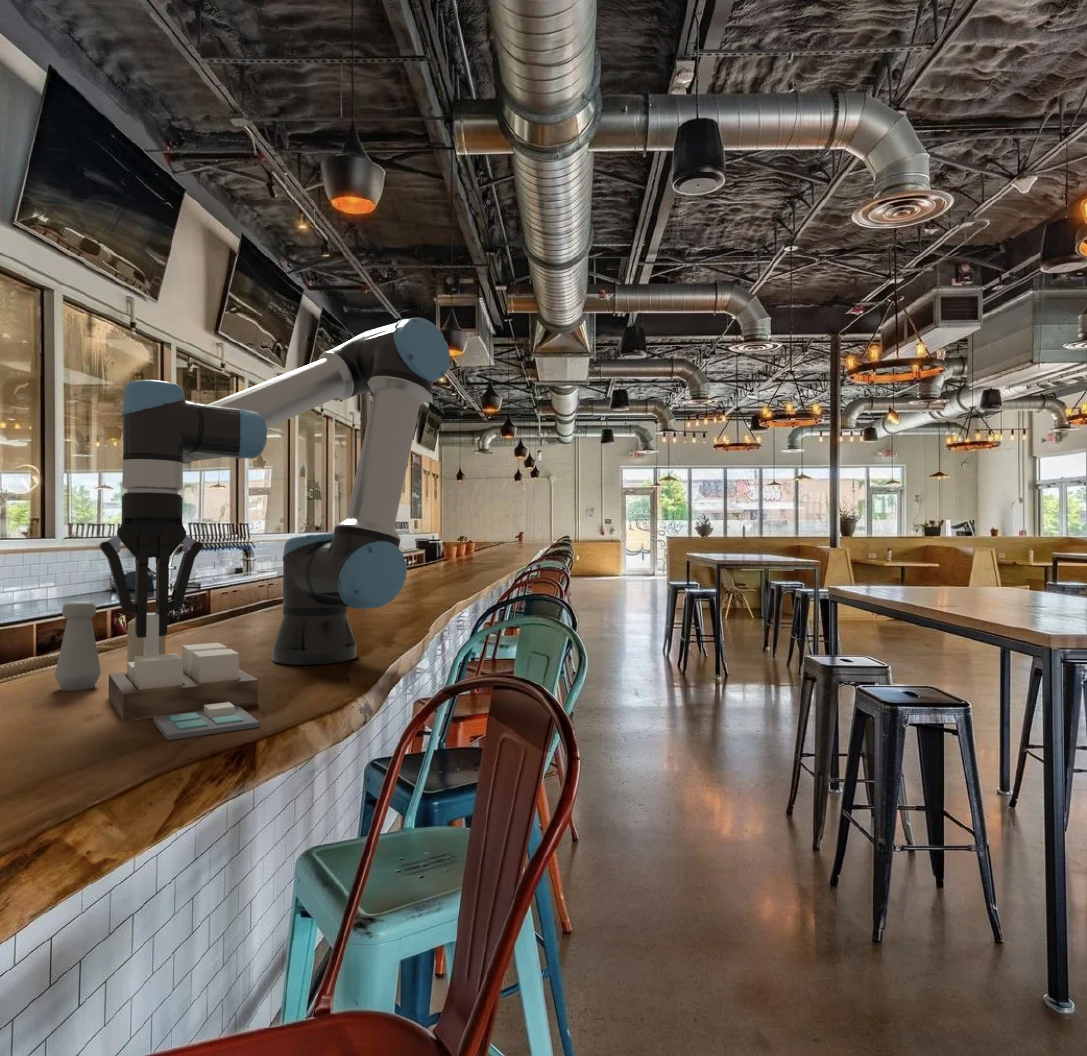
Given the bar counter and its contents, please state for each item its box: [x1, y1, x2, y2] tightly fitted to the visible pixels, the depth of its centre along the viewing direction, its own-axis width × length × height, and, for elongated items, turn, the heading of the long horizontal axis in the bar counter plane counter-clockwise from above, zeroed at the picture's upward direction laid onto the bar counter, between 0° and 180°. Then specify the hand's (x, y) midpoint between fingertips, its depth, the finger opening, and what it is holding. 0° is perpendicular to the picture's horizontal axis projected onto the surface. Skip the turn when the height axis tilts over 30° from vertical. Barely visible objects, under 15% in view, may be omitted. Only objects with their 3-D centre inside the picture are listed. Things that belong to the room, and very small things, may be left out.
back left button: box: [181, 642, 228, 675], centre depth 105 cm, size 5×5×4 cm
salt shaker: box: [54, 600, 102, 692], centre depth 108 cm, size 6×6×13 cm
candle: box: [126, 617, 166, 663], centre depth 119 cm, size 6×6×10 cm
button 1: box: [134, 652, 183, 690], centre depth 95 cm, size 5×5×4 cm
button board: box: [108, 668, 259, 723], centre depth 100 cm, size 16×16×3 cm
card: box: [152, 702, 260, 741], centre depth 88 cm, size 10×10×2 cm
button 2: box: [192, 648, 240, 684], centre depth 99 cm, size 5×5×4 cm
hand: (151, 660), depth 101 cm, fingers closed
